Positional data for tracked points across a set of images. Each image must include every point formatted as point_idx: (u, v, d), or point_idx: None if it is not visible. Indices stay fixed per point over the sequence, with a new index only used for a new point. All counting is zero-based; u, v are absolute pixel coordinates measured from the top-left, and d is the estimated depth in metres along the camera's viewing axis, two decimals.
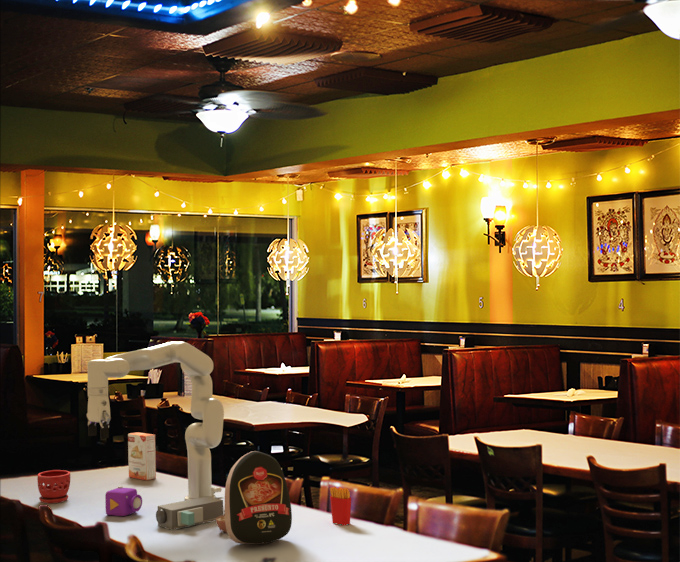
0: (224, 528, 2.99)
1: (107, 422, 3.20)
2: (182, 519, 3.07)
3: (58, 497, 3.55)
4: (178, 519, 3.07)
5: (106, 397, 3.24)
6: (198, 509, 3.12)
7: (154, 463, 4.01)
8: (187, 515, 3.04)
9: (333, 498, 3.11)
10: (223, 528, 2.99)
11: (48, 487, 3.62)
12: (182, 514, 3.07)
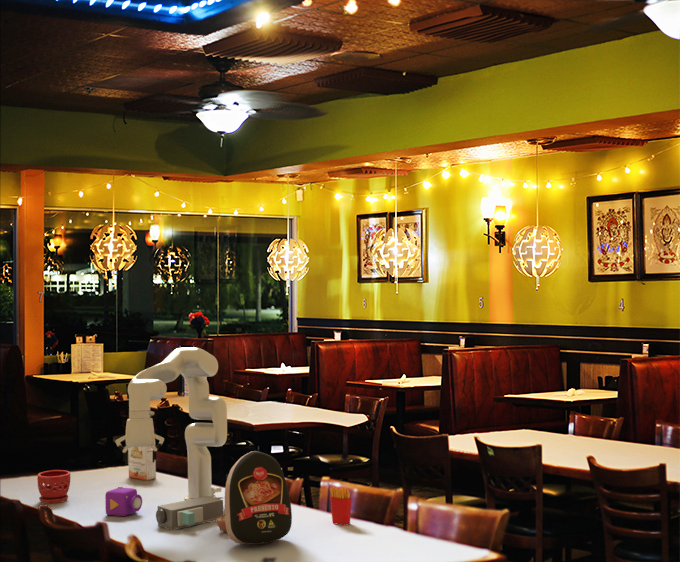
0: (224, 528, 2.99)
1: (161, 444, 3.13)
2: (182, 519, 3.07)
3: (58, 497, 3.55)
4: (178, 519, 3.07)
5: None
6: (198, 509, 3.12)
7: (154, 463, 4.01)
8: (187, 515, 3.04)
9: (333, 498, 3.11)
10: (223, 528, 2.99)
11: (48, 487, 3.62)
12: (182, 514, 3.07)
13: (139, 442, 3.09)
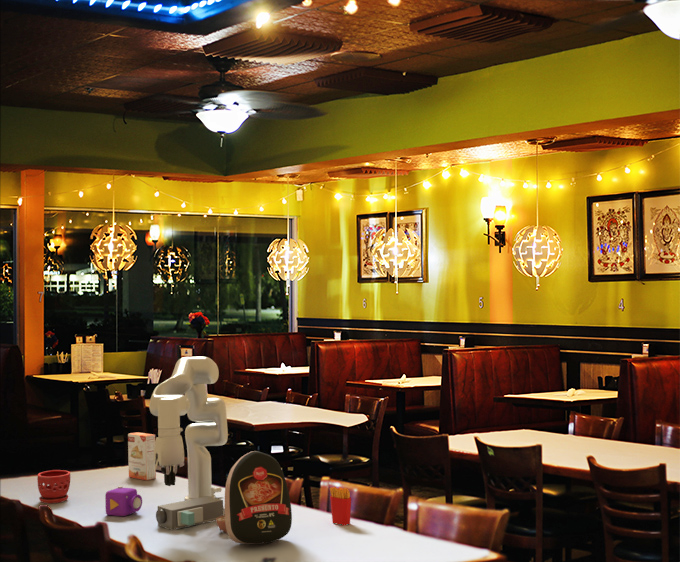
0: (224, 528, 2.99)
1: None
2: (182, 519, 3.07)
3: (58, 497, 3.55)
4: (178, 519, 3.07)
5: None
6: (198, 509, 3.12)
7: None
8: (187, 515, 3.04)
9: (333, 498, 3.11)
10: (223, 528, 2.99)
11: (48, 487, 3.62)
12: (182, 514, 3.07)
13: (172, 460, 3.01)
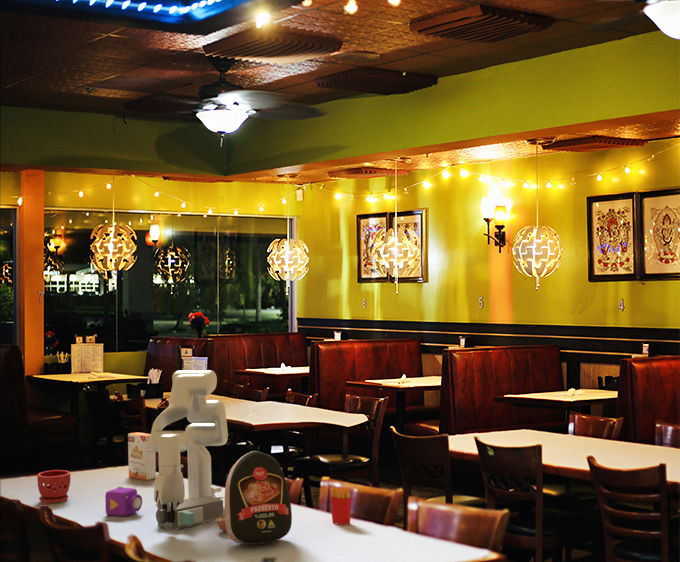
0: (224, 528, 2.99)
1: None
2: (182, 519, 3.07)
3: (58, 497, 3.55)
4: (178, 519, 3.07)
5: None
6: (198, 509, 3.12)
7: (154, 463, 4.01)
8: (187, 515, 3.04)
9: (333, 498, 3.11)
10: (223, 528, 2.99)
11: (48, 487, 3.62)
12: (182, 514, 3.07)
13: (173, 497, 3.00)
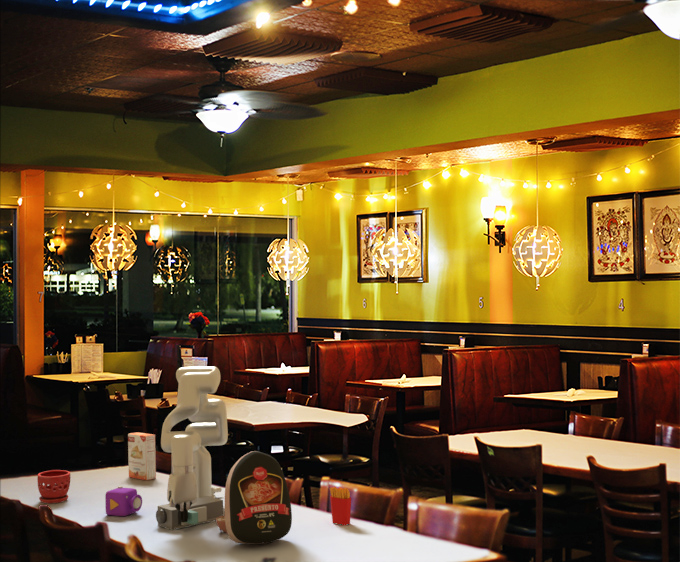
0: (223, 528, 2.99)
1: None
2: None
3: (58, 497, 3.55)
4: None
5: None
6: (202, 508, 3.13)
7: (154, 463, 4.01)
8: (191, 514, 3.05)
9: (333, 498, 3.11)
10: (222, 528, 2.99)
11: (48, 487, 3.62)
12: None
13: (185, 497, 3.04)
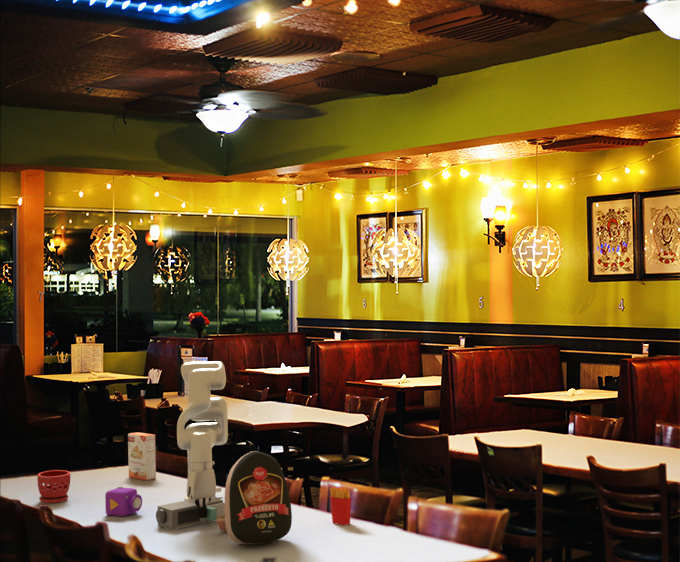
0: (223, 528, 2.99)
1: None
2: None
3: (58, 497, 3.55)
4: None
5: None
6: (220, 505, 3.19)
7: (154, 463, 4.01)
8: (210, 510, 3.10)
9: (333, 498, 3.11)
10: (222, 528, 2.99)
11: (48, 487, 3.62)
12: None
13: (204, 493, 3.09)
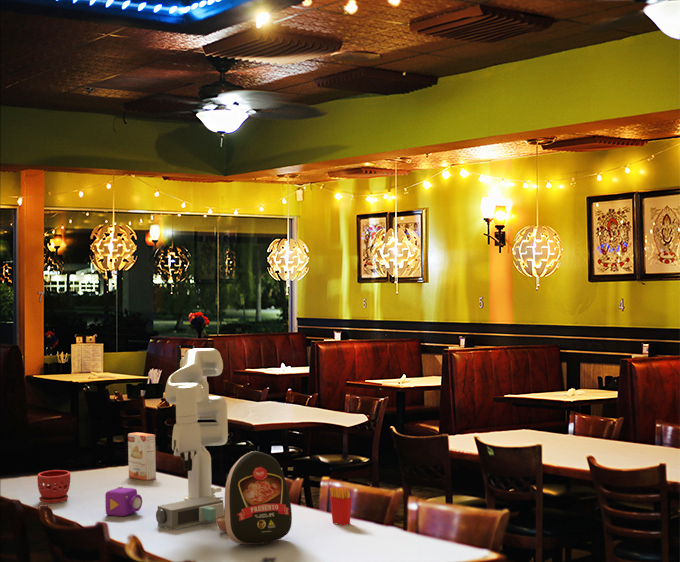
0: (223, 528, 2.99)
1: None
2: (203, 515, 3.13)
3: (58, 497, 3.55)
4: (200, 515, 3.13)
5: None
6: (219, 505, 3.18)
7: (154, 463, 4.01)
8: (209, 511, 3.10)
9: (333, 498, 3.11)
10: (222, 528, 2.99)
11: (48, 487, 3.62)
12: (203, 510, 3.13)
13: (190, 447, 3.09)
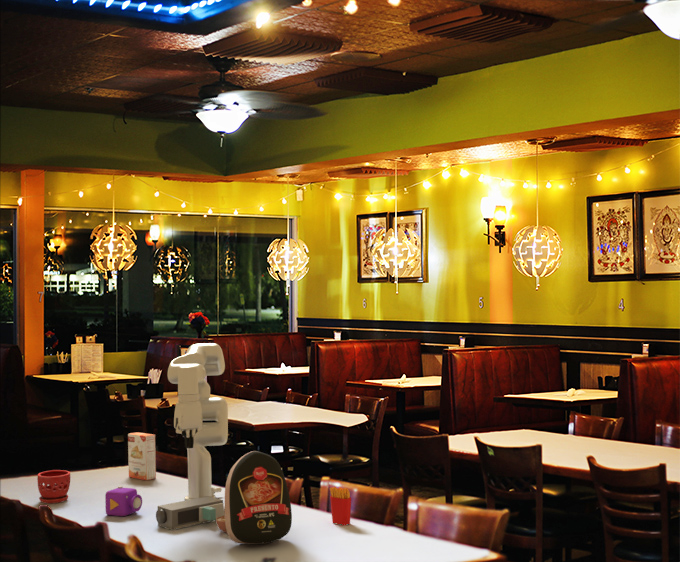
0: (222, 528, 2.99)
1: None
2: (203, 515, 3.13)
3: (58, 497, 3.55)
4: (200, 515, 3.13)
5: None
6: (219, 505, 3.18)
7: (154, 463, 4.01)
8: (209, 511, 3.10)
9: (333, 498, 3.11)
10: (222, 528, 2.99)
11: (48, 487, 3.62)
12: (203, 510, 3.13)
13: (191, 424, 3.19)
